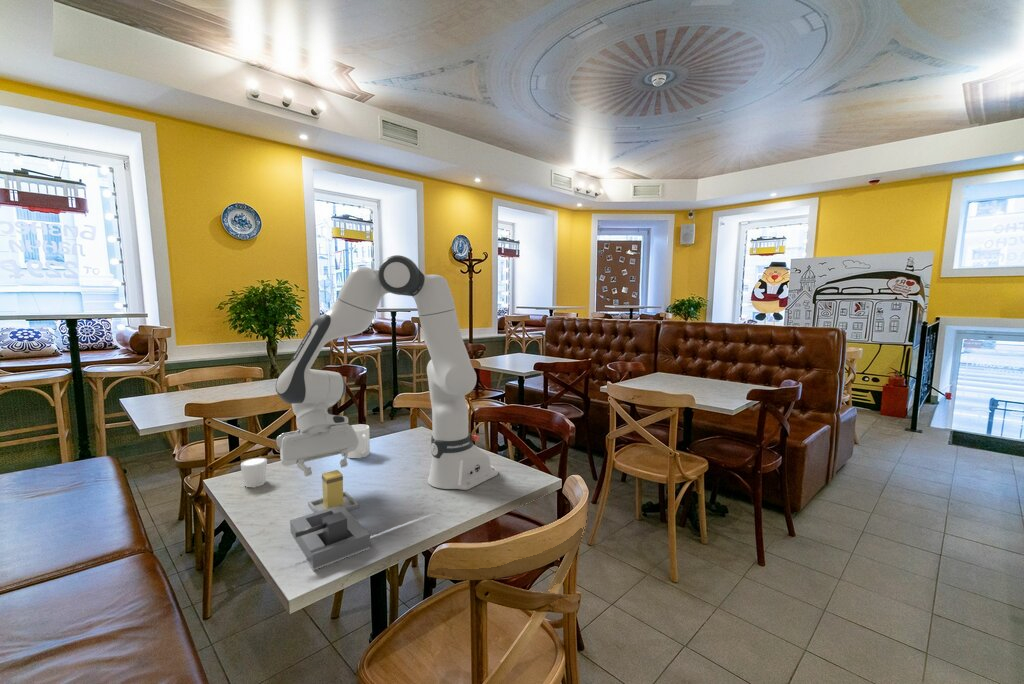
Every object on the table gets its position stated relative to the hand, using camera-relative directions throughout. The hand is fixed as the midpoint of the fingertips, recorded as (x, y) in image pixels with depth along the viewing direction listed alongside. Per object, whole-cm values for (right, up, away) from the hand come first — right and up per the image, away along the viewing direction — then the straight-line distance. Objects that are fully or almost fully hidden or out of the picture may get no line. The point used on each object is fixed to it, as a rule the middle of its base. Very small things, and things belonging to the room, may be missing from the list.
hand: (327, 470), depth 115 cm
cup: (-4, -6, +36) cm, 36 cm away
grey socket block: (+8, -11, -18) cm, 23 cm away
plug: (+3, -9, -2) cm, 10 cm away
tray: (+3, -9, -2) cm, 10 cm away
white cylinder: (-27, -8, +12) cm, 31 cm away
